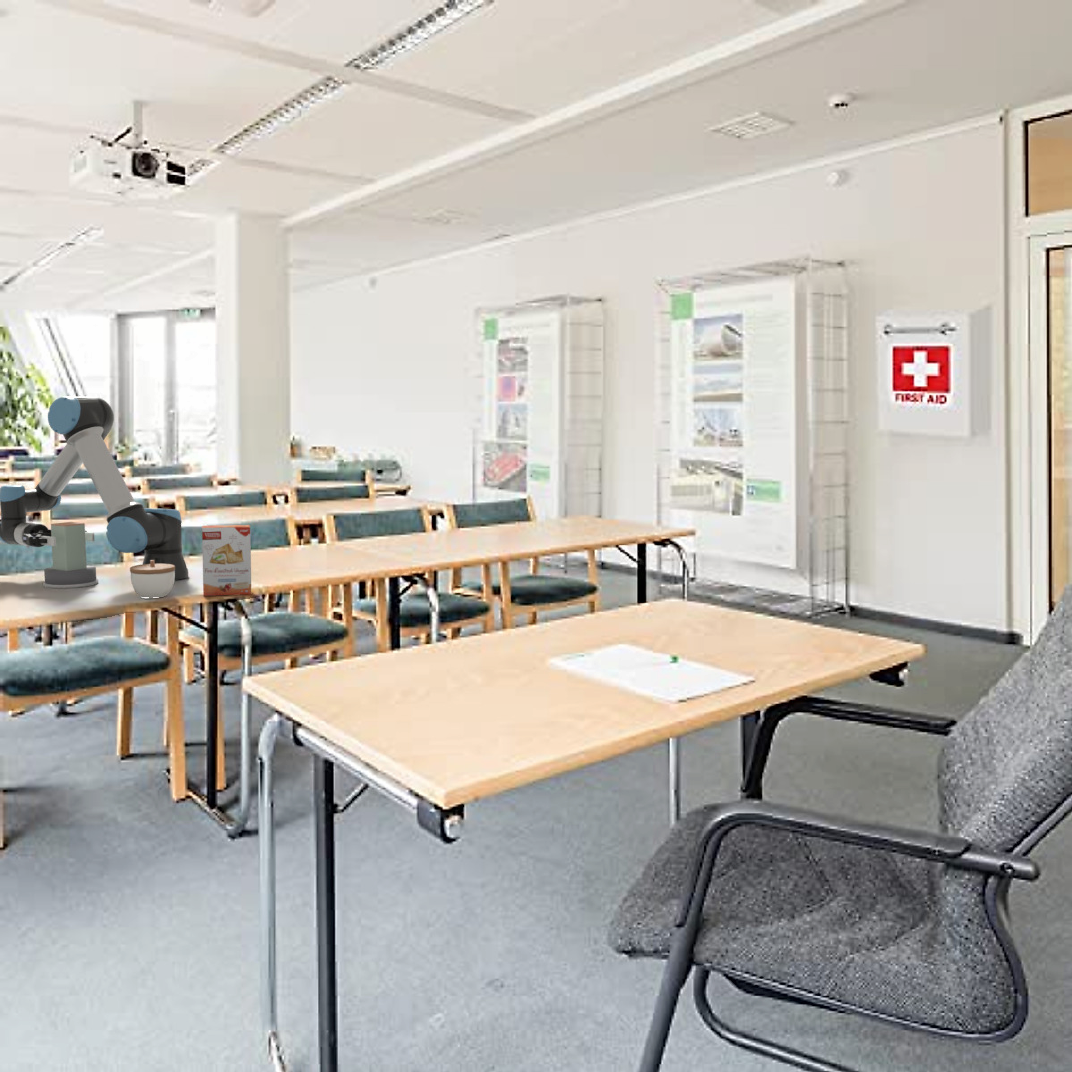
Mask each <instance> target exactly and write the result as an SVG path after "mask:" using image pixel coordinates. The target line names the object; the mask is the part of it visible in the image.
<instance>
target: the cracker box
mask: <svg viewBox="0 0 1072 1072" xmlns="http://www.w3.org/2000/svg"><path fill="white" fill-rule="evenodd" d="M201 542H202V544H201V546H202V548H201V549H202V550H201V551H202V584H203V590H202V593H203V597H207V596H208V597H209V596H210V597H213V596H241V595H244V596H245V595H246V596H247V595H248V596H249V595H252V553H251V552H252V551H251V550H252V548H251V546H252V545H251V543H252V541H251V525H250V524H221V525H220V524H219V525H217V524H216V525H213V524H212V525H202V528H201Z"/></svg>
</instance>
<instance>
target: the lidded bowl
mask: <svg viewBox="0 0 1072 1072" xmlns="http://www.w3.org/2000/svg"><path fill="white" fill-rule="evenodd" d="M129 572H130V581H131V585H132V588H133V590H134V592H135V593H136V594H137V595H138V596H140V598H141V597H149V598H153V597H163V596H166V595H168V594H169V593H170V592H171V591H172V589H173V587H174V585H175V584H174V583H175V581H176V580H175V566H174V565H172V564H155V560H150V564H143V563H142V564H137V565H133V566H131V567H129ZM166 597H167V596H166Z"/></svg>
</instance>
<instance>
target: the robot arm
mask: <svg viewBox="0 0 1072 1072" xmlns="http://www.w3.org/2000/svg"><path fill="white" fill-rule="evenodd" d="M114 418H115V415H114V411H113V409H112V407H111V405H110V404H109V403H108V402H107V401H106V400H104V399H103V398H100V397H96V396H74V395H67V396H60V397H58V398H56V399H55V400H54V401H52V403H51V405H50V406H49V409H48V413H47V422H48V425H49V427H50V428H51V431H53V432H54V433H57V434H59V435H63V437H64V439H65V442H66V444H65V446H64V447H63V449H61V451H60V452H59V454H58V456H57V457H56V458H55V460H54V462H52V464H51V465H50V466H49V468H48V469H47V471H46V473H45V474H44V475H43V476H42V478H41V480H40V481H39V482H38V483H37V484H36V486H35V487H34V488H33V489H26V488H25V486H24V485H21V484H20V485H19V484H10V485H9V484H8V485H2V486H0V542H1V543H2V544H3V543H4V544H7V545H16V546H25V548H30V547H34V548H41V547H44V546H48V547H49V546H50V547H52V546H56V537H51V529H49V528H48V527H47V526H46V525H45V524H42V523H33V522H27V513H33V512H34V513H35V512H43V511H44V512H45V511H50V510H51V511H52V510H54V509H57V508H58V507H59V506H60V505H61V501H62V495H61V493H62V492H63V491H64V490H65V488H66V486H68V484H69V482H70V481H71V480H72V479H73V477H74V476H75V475H76V473H77V471H78V470H79V469H80V467H81V466H82V465H84V467H85V469H86V472H87V473H88V476H89V477H90V479H91V481H92V483H93V484H94V487H95V489H96V491H97V492H98V495H99V497H100V499H101V501H102V503H103V505H104V507H105V508H106V510H107V512H108V514H107V515H106V519H105V520H106V521H107V526H106V533H105V534H106V538H107V541H108V542H109V544H110V545H111V547H112V548H114V549H115V550H116V551H118V552H121V553H124V554H130V553H131V554H136V553H140V552H143V551H144V556H143V557H144V558H143V560H142V564H150V560H155V564H172V565H174V566H175V580H174V581H178V580H179V579H180V580H184V579H183V578H185V579H188V578H189V577H190V576H189V569H188V567H187V564H186V561H185V559H184V556H183V539H182V538H183V537H182V535H183V534H182V524H183V523H182V522H183V521H182V517H181V512H180V511H179V510H177V509H174V508H173V509H171V508H170V509H169V508H151V507H150V508H149V507H146V508H145V507H144V506H143V504H142V503H140V502H138V501H135V499H134V497H133V495H132V494H131V491H130V489H129V487H128V486H127V484H126V482H125V480H124V477H123V475H122V473H121V472H120V470H119V467H118V466H117V464H116V462H115V459H114V458H113V456H112V454H111V452H110V450H109V448H108V447H107V444H106V443H105V439H106V438H107V437H108V435H109V434H110V432H111V430H112V428H113V426H114V420H115V419H114ZM85 542H95V533H94V532H89V531H87V530H85Z"/></svg>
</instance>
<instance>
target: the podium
mask: <svg viewBox="0 0 1072 1072" xmlns="http://www.w3.org/2000/svg"><path fill="white" fill-rule="evenodd" d="M43 573H44V575H43V576H44V581H43V582H42V587H44V588H46V587H49V588H48V589H77V587H79V588H86V587H92V586H95V585H98V584H99V579H98V578H97V567H96V566H94V565H87V568H84V569H77V570H71V571H63V570H56V569H53V566H52V567H47V568H45V569H44V570H43Z"/></svg>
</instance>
